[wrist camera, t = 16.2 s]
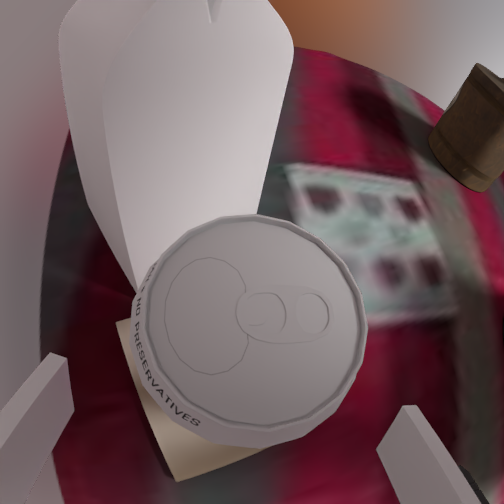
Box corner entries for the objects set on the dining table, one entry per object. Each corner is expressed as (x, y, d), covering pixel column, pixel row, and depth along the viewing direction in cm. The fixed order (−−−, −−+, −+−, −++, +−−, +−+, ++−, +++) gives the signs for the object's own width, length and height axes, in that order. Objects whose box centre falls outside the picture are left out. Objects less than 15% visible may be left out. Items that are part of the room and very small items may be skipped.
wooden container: (462, 141, 52) (514, 66, 33) (497, 197, 45) (563, 119, 26) (414, 126, 49) (469, 34, 30) (452, 187, 42) (529, 87, 23)
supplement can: (163, 430, 19) (116, 451, 6) (164, 323, 23) (139, 193, 10) (275, 428, 21) (397, 429, 8) (268, 325, 25) (355, 210, 12)
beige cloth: (319, 420, 22) (323, 420, 21) (176, 480, 18) (176, 482, 17) (253, 282, 27) (255, 278, 27) (117, 325, 23) (115, 322, 22)
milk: (87, 203, 28) (42, -70, 6) (183, 159, 33) (212, -86, 11) (141, 301, 24) (84, -103, 2) (250, 237, 30) (355, -67, 8)
